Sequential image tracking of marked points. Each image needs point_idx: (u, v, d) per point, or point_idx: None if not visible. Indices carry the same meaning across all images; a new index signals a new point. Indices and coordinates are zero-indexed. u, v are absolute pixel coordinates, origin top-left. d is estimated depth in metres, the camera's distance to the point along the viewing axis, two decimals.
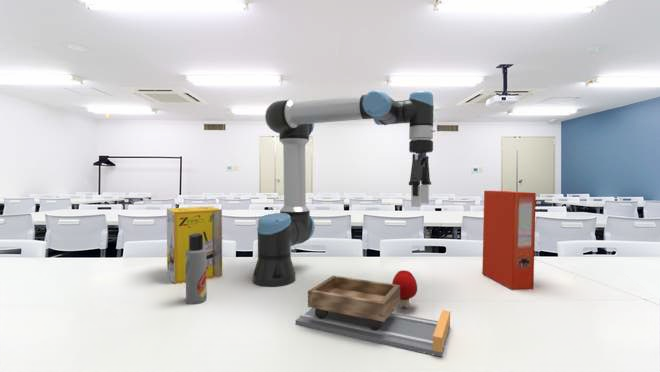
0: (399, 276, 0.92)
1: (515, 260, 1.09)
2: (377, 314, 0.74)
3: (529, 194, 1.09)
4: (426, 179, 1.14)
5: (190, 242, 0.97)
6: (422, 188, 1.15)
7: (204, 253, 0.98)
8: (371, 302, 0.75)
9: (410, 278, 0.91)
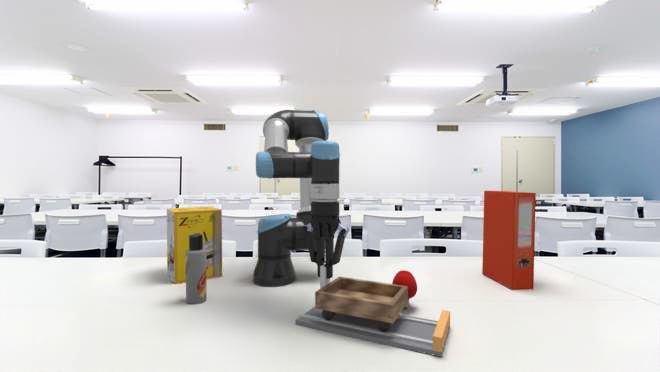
0: (399, 276, 0.92)
1: (515, 260, 1.09)
2: (386, 316, 0.73)
3: (529, 194, 1.09)
4: None
5: (190, 242, 0.97)
6: None
7: (204, 253, 0.98)
8: (380, 304, 0.74)
9: (410, 278, 0.91)
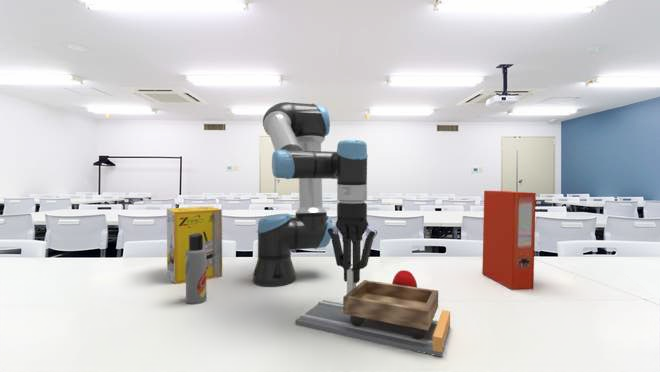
0: (399, 276, 0.92)
1: (515, 260, 1.09)
2: (420, 322, 0.70)
3: (529, 194, 1.09)
4: None
5: (190, 242, 0.97)
6: None
7: (204, 253, 0.98)
8: (414, 309, 0.71)
9: (411, 279, 0.91)
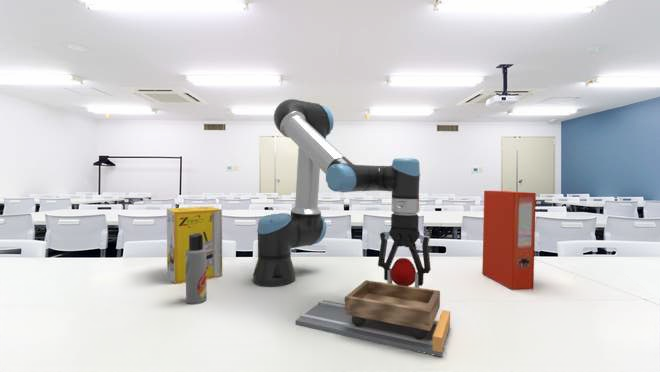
0: (398, 263, 0.92)
1: (515, 260, 1.09)
2: (422, 323, 0.70)
3: (529, 194, 1.09)
4: None
5: (190, 242, 0.97)
6: None
7: (204, 253, 0.98)
8: (416, 310, 0.71)
9: (410, 266, 0.91)
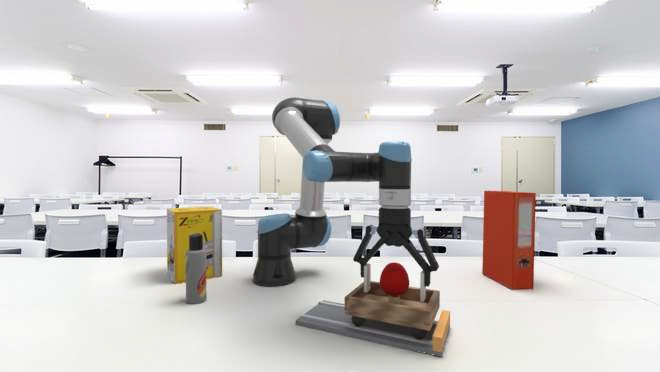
0: (388, 269, 0.78)
1: (515, 260, 1.09)
2: (422, 322, 0.70)
3: (529, 194, 1.09)
4: None
5: (190, 242, 0.97)
6: None
7: (204, 253, 0.98)
8: (415, 310, 0.71)
9: (401, 271, 0.77)
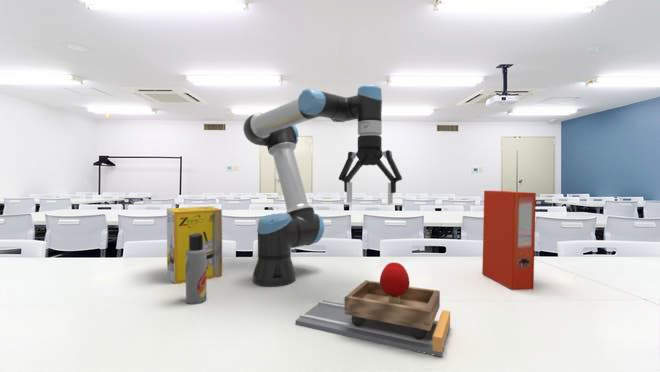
0: (388, 269, 0.78)
1: (515, 260, 1.09)
2: (422, 322, 0.70)
3: (529, 194, 1.09)
4: None
5: (190, 242, 0.97)
6: None
7: (204, 253, 0.98)
8: (415, 310, 0.71)
9: (401, 272, 0.77)
